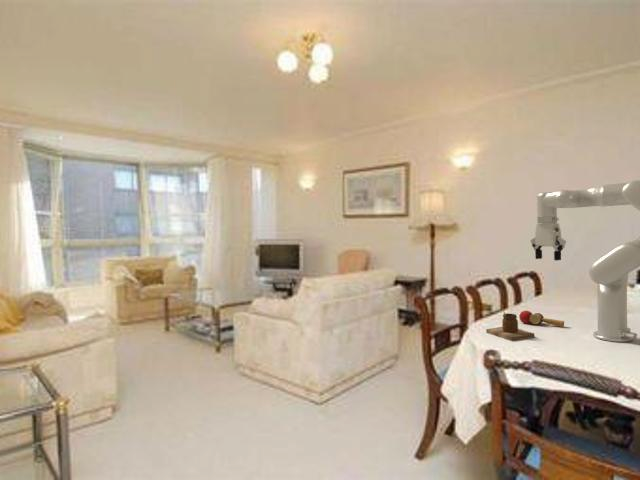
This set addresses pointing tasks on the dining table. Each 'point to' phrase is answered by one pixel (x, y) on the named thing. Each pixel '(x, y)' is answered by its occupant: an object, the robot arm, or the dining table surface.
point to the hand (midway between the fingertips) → (547, 259)
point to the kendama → (538, 319)
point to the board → (510, 334)
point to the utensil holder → (510, 322)
